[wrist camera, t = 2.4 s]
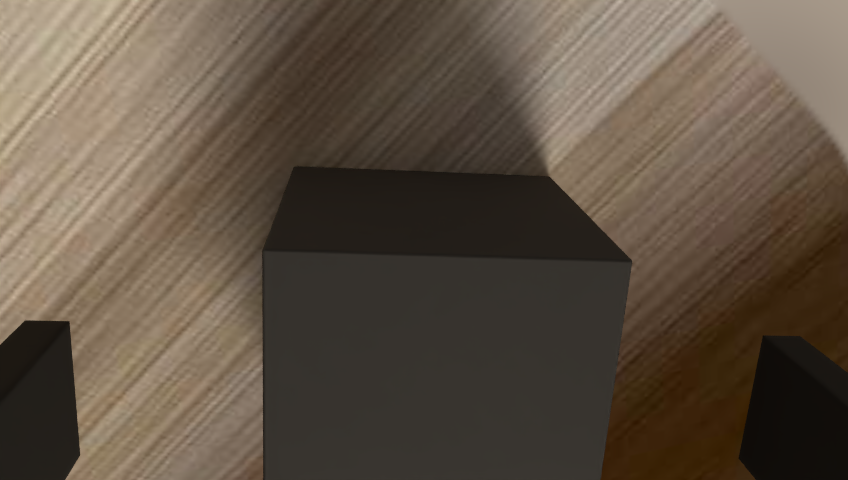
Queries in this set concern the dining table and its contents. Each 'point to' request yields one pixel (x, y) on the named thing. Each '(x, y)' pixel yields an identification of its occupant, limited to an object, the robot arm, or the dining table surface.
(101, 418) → the dining table surface
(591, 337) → the dark grey cube
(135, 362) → the dining table surface
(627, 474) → the dining table surface
